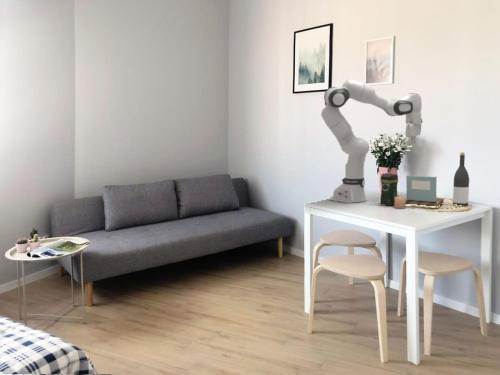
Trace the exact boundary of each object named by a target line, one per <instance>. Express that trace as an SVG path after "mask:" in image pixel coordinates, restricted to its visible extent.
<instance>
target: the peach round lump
mask: <svg viewBox="0 0 500 375" xmlns="http://www.w3.org/2000/svg"><path fill="white" fill-rule="evenodd" d="M406 200H407V196H401V195H400V196H398V195H397V196H396V197H395V202H394V206H393V207H394V209H406V206H405V204H406Z"/></svg>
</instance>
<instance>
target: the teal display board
mask: <svg viewBox="0 0 500 375" xmlns="http://www.w3.org/2000/svg"><path fill="white" fill-rule="evenodd" d="M405 181H406V182H405V183H406V200H419V201H432V202H436V198H437V176H429V175H428V176H425V175H410V174H409V175H406V180H405Z"/></svg>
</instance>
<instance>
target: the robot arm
mask: <svg viewBox="0 0 500 375" xmlns="http://www.w3.org/2000/svg"><path fill="white" fill-rule="evenodd" d="M323 99H324V106H325V107H324V108H323V109H322V110H321V118H322V120H323V121H324V123H325V124H326V126H327V128H328V129H329V130H330V131H331V133H332V135H333V136H334V137H335V139H336V140H337V142H338V144H339V146H340V148H341V151H342V152H344V153H345V154H346V155H348V157H347V161H346V164H345V167H344V168H345V177H344V178H342V179H341V182H342V183H341V184H340V185H338V186H337V187H336V188H335V189H334V190H333V193H332V196H331V197H329V200H330V201H332V200H333V201H332V202H339V201H340V202H341V203H346V204H347V203H349V204H350V203H362V202H366V201H367V198H366V193H365V182H366V181H365V177H364V176H365V173H364V172H365V169H364V168H365V163H366V162H365V160H366V158H367V155H368V153H369V151H370V144H369V142H368V141H367V140H365V139H364V138H361V137H357V136H356V135H355V134H354V131H353V130H352V126H351V124H350V123H349V121H348V120H347V119H346V117H344V115H343V114H342V113H341V111H340V108H343V106H344V105H346V103H347V102H348V101H349V99H352V100H354V101H356V102H358V103H362V104H367V105H369V104H370V105H372V106H375V107H377V108H380V109H381V110H383V111H384V112H385V113H386V114H387V115H388V116H390V117H396V116H397V117H399V116H400V117H401V116H404V115H405V124H406V125H405V137H406V138H409V139H410V144H411V145H414V144H416V139H417V136H420V135H421V131H422V124H423V119H422V112H421V111H422V97H421V95H420V94H418V93H413V92H409V93H408V94H406V95H405V96H403V97H401V98H399V99H387V98H384V97H382V96H380V95H378V94H376V90H375V88H374V87H373V86H371V85H369V84H367V83H365V82H363V81H360V80H356V79H352V78H351V79H349V78H347V79H346V80H345V81H344V82H343V84H342V85H341V87H336V86H331V87H329V88H326V90H325V92H324V94H323ZM340 202H339V203H340Z"/></svg>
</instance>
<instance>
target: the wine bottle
mask: <svg viewBox="0 0 500 375" xmlns="http://www.w3.org/2000/svg"><path fill="white" fill-rule="evenodd" d="M465 160H466V155H465V152H463V151H462V152H460V154H459V166H458V167H457V170H456V171H455V174H454V175H453V188H452V190H453V191H452V205H453V204H457V205H464V206H463V207H465V206H466V205H467V206H469V193H470V192H469V190H470V176H469V172H468V170H467V169H466V167H465ZM467 206H466V207H467Z"/></svg>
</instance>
